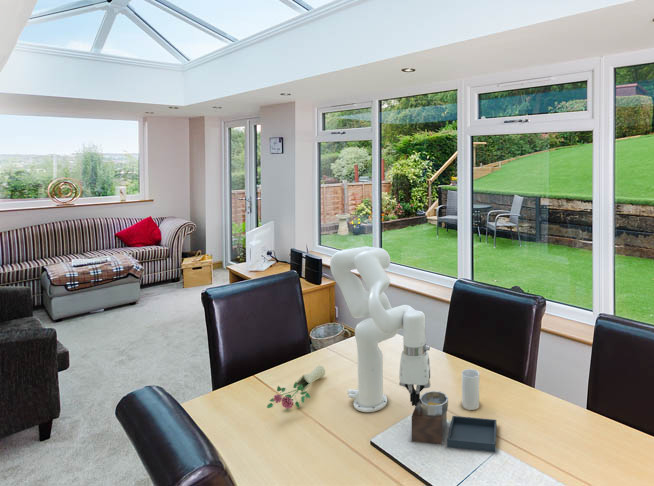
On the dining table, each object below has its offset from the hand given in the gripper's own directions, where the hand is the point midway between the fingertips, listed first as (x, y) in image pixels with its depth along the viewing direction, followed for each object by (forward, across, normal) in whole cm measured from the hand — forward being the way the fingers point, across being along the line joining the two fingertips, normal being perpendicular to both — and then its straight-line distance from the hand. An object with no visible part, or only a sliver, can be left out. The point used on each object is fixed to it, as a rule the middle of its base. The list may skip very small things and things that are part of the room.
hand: (415, 403), depth 144 cm
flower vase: (+9, +48, -13) cm, 50 cm away
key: (+1, -6, -1) cm, 7 cm away
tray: (+9, -19, 0) cm, 22 cm away
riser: (+9, -5, 0) cm, 11 cm away
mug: (+9, -17, -20) cm, 28 cm away
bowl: (+1, -6, 0) cm, 7 cm away
